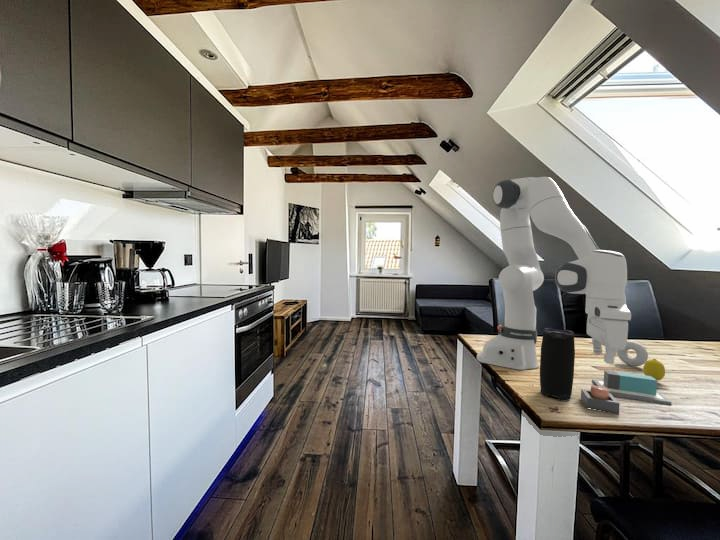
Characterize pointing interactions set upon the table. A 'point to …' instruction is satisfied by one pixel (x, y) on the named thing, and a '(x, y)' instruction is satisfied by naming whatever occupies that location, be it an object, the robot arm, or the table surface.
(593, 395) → the button
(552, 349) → the portable speaker
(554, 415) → the table surface
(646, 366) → the lemon
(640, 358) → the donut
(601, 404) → the button housing
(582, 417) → the table surface
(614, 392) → the drawing board
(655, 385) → the marker
